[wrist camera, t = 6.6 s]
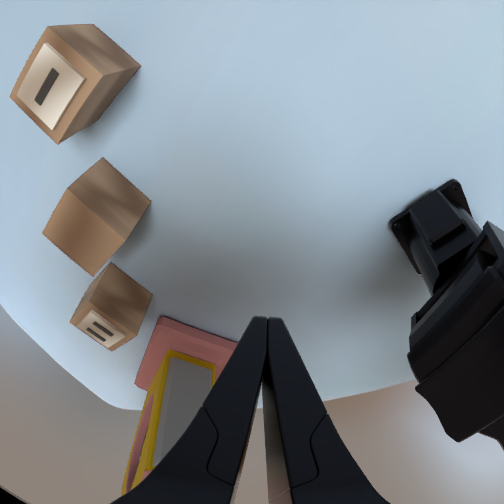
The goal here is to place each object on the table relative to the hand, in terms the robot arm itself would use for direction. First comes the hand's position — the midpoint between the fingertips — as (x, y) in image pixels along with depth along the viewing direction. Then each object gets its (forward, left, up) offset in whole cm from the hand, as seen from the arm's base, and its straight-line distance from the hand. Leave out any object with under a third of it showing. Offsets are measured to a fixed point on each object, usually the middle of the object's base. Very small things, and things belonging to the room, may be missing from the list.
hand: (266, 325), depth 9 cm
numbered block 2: (0, +19, -13) cm, 23 cm away
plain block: (+6, +11, -13) cm, 18 cm away
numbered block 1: (+13, +4, -13) cm, 19 cm away
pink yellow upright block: (-12, +24, -13) cm, 30 cm away
